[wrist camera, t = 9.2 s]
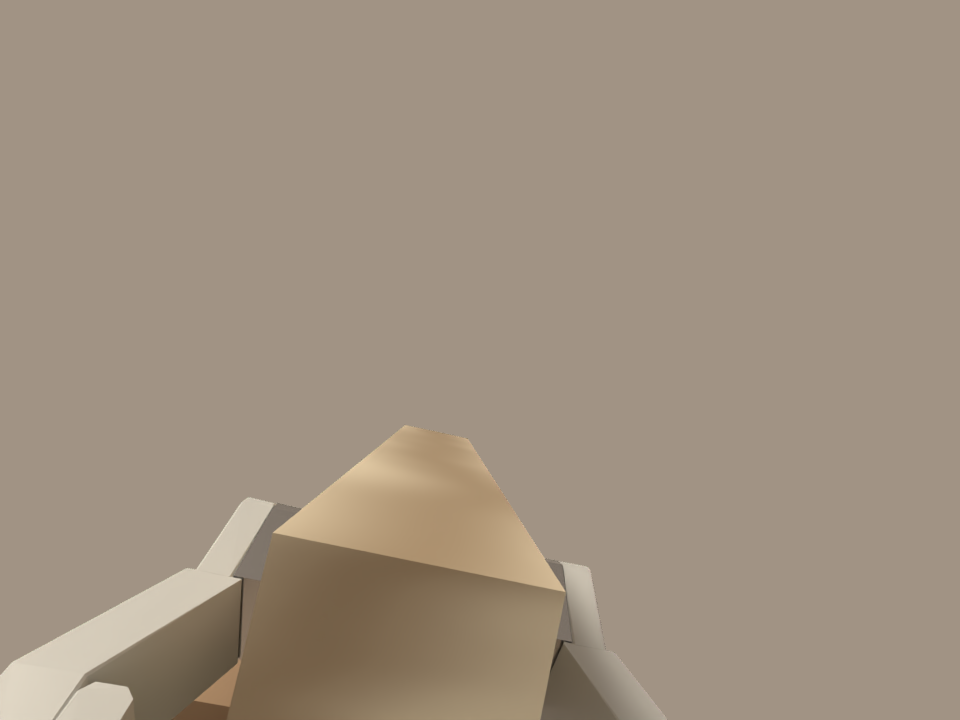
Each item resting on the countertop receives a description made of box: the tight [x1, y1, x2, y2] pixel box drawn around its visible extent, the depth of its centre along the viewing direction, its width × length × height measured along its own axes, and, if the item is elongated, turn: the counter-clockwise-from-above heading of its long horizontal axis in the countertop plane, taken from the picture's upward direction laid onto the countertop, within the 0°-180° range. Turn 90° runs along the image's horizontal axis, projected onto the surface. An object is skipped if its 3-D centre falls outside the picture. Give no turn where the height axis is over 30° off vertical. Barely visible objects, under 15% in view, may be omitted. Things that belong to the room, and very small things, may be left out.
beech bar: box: [227, 425, 566, 720], centre depth 15 cm, size 3×20×4 cm, turn 4°
